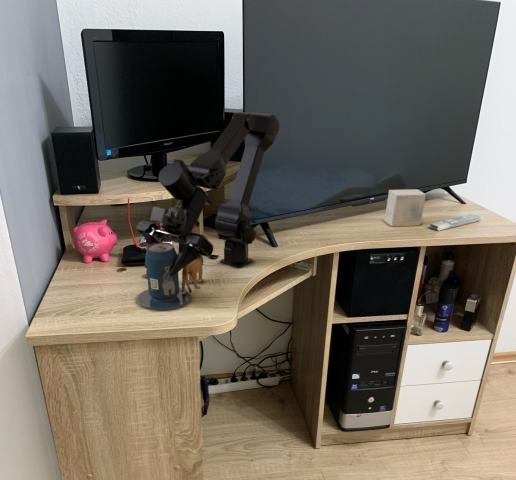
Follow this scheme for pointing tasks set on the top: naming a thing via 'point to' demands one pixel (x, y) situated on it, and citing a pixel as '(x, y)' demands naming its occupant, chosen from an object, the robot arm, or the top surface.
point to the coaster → (152, 304)
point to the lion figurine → (192, 274)
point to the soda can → (161, 272)
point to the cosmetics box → (404, 207)
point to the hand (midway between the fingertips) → (158, 271)
